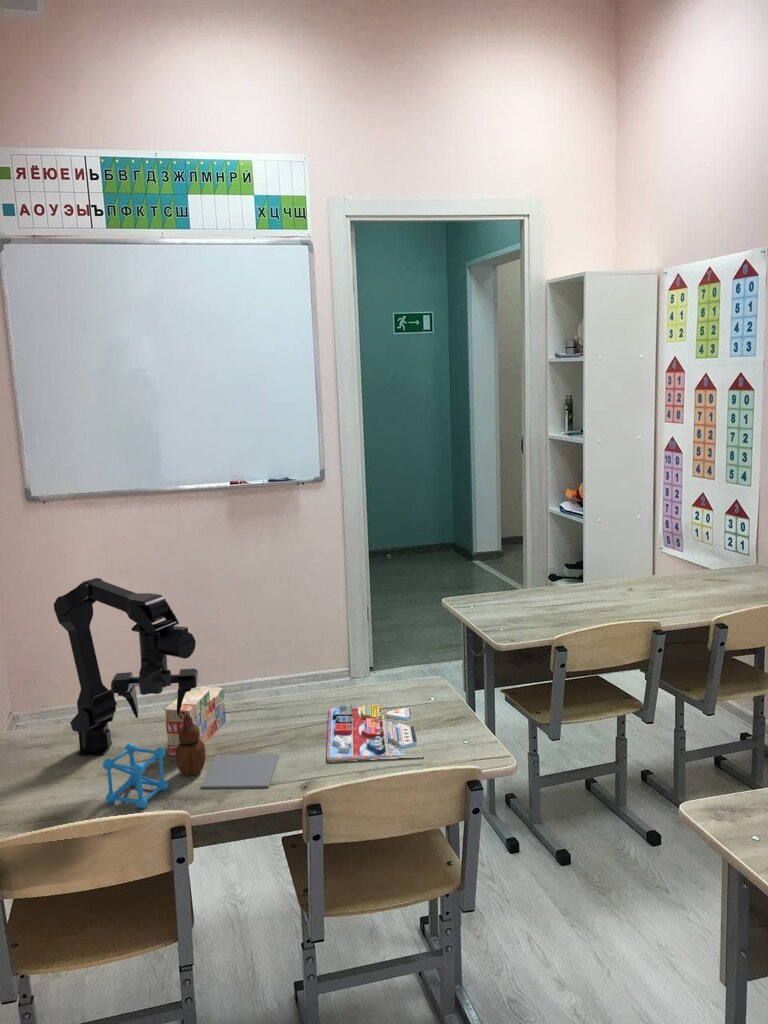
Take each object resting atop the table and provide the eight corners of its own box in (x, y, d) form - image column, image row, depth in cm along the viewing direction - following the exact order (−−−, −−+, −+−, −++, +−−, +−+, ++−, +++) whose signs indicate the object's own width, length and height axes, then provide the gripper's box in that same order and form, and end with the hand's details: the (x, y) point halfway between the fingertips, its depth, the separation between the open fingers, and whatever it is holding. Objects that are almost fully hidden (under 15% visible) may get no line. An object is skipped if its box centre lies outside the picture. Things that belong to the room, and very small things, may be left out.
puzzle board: (424, 760, 196) (424, 750, 195) (326, 765, 195) (326, 754, 194) (413, 708, 226) (413, 698, 225) (328, 712, 225) (328, 702, 224)
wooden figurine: (190, 781, 187) (185, 718, 185) (172, 775, 190) (167, 713, 188) (211, 768, 193) (207, 707, 190) (193, 763, 196) (189, 703, 193)
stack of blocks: (203, 719, 221) (200, 675, 218) (226, 721, 219) (223, 676, 217) (168, 756, 200) (164, 708, 198) (192, 758, 199) (189, 709, 197)
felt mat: (201, 788, 184) (201, 786, 184) (216, 756, 199) (216, 754, 199) (268, 787, 184) (268, 785, 184) (279, 756, 198) (278, 754, 198)
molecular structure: (103, 804, 179) (99, 760, 177) (132, 782, 188) (128, 740, 186) (143, 811, 175) (139, 767, 174) (170, 788, 185) (167, 746, 183)
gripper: (103, 666, 180) (109, 734, 182) (192, 661, 182) (196, 728, 185) (113, 648, 191) (118, 713, 193) (196, 644, 193) (200, 707, 196)
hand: (157, 715), depth 192 cm, fingers open, 9 cm apart
